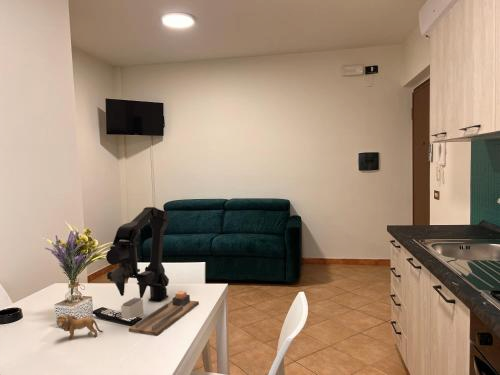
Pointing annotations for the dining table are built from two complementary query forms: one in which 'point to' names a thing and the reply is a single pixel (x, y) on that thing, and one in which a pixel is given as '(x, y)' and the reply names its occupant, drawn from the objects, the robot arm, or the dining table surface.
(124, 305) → the block
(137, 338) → the dining table surface
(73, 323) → the lion figurine
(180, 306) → the rail mount
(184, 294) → the button
